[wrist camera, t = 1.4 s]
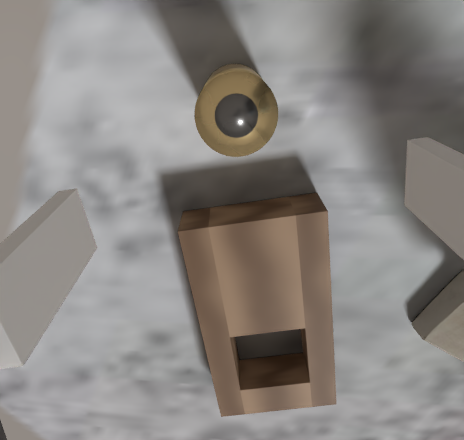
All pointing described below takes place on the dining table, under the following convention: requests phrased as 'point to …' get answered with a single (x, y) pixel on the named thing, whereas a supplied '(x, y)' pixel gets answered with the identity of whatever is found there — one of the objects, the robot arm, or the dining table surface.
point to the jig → (263, 299)
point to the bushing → (236, 111)
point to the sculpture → (445, 319)
